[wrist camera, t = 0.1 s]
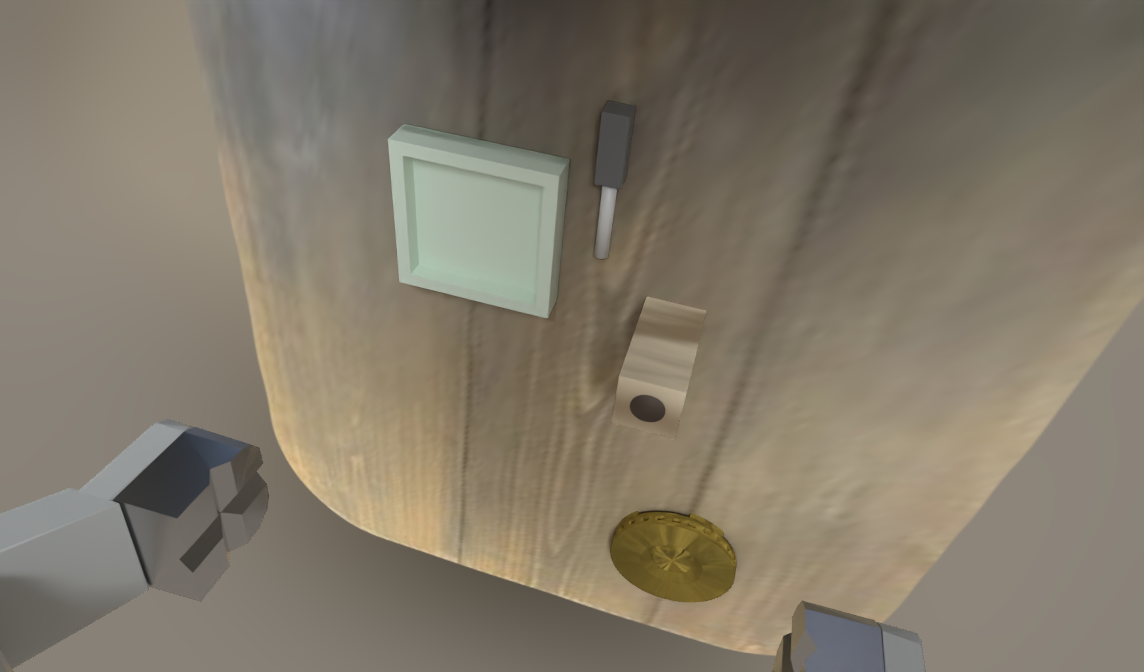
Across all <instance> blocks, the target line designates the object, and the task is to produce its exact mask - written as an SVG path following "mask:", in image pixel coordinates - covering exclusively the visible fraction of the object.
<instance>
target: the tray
mask: <svg viewBox="0 0 1144 672" xmlns="http://www.w3.org/2000/svg"><path fill="white" fill-rule="evenodd" d="M388 146H389V158H390V171H391V183H392V195H393V208H394V220H395V232H396V245H397V257H398V269H399V282H401V283H406V284H410V285H414V286H418V287H422V288H426V289H430V290H434V291H438V292H442V293H446V294H450V295H454V296H458V297H462V298H466V299H470V300H474V301H478V302H482V303H486V304H490V305H494V306H498V307H502V308H507V309H511V310H515V311H519V312H523V313H527V314H531V315H535V316H539V317H543V318H547V319H548V317H549V315H550V313H551V311H552V309H553V307H554V305H555V303H556V301H557V296H558V285H559V274H560V263H561V252H562V241H563V230H564V219H565V208H566V197H567V186H568V174H569V163H570V159H568V158H563V157H558V156H553V155H549V154H544V153H539V152H535V151H530V150H525V149H521V148H516V147H511V146H506V145H502V144H497V143H492V142H488V141H483V140H478V139H474V138H469V137H464V136H460V135H455V134H450V133H445V132H441V131H436V130H431V129H427V128H422V127H417V126H413V125H408V124H403V125H402V126H401V127H400V128H399V129H398V130H397V131H396V132H395V133H394V134H393V135H392V136H391V137H389V138H388Z"/></svg>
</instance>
